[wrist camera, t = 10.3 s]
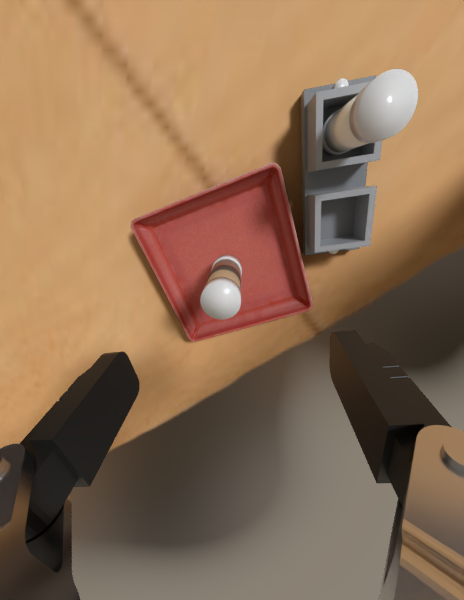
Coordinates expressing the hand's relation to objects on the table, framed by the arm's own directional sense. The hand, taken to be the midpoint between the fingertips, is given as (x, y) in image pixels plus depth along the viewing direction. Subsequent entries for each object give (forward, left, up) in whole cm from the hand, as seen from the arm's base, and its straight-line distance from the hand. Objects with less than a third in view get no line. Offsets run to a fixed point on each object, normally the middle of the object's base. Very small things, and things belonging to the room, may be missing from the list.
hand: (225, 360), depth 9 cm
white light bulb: (-11, -9, -21) cm, 26 cm away
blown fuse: (+2, +3, -20) cm, 20 cm away
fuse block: (-11, -5, -23) cm, 26 cm away
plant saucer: (+2, +3, -24) cm, 24 cm away
